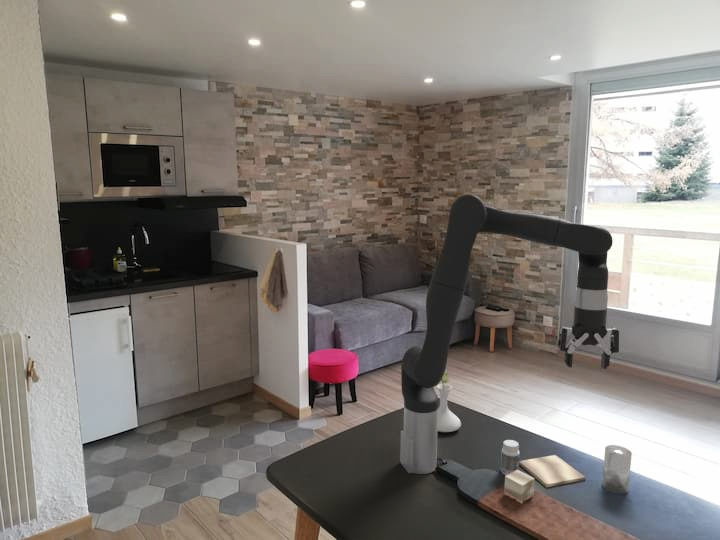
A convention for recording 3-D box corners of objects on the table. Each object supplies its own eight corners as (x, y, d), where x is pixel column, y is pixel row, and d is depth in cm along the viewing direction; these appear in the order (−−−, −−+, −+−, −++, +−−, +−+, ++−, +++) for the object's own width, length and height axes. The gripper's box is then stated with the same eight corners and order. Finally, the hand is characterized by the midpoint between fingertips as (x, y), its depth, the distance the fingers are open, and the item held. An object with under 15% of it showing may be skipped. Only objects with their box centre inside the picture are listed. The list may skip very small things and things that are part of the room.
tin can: (614, 495, 127) (618, 458, 126) (596, 482, 133) (599, 446, 131) (633, 491, 129) (637, 454, 128) (615, 479, 135) (618, 443, 133)
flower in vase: (441, 416, 172) (443, 344, 168) (468, 428, 163) (471, 353, 159) (414, 427, 163) (415, 352, 160) (440, 440, 155) (443, 361, 151)
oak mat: (546, 487, 131) (546, 484, 131) (518, 463, 142) (519, 461, 142) (585, 479, 134) (585, 477, 134) (555, 457, 146) (555, 454, 145)
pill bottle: (520, 477, 135) (522, 447, 134) (503, 476, 135) (504, 447, 134) (515, 467, 140) (517, 439, 139) (498, 467, 140) (500, 438, 139)
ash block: (521, 504, 124) (522, 485, 123) (504, 494, 128) (505, 476, 127) (533, 497, 127) (534, 478, 126) (516, 487, 131) (517, 469, 130)
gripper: (565, 308, 125) (561, 371, 128) (626, 309, 124) (621, 373, 126) (557, 301, 133) (553, 361, 135) (614, 302, 131) (610, 363, 134)
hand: (586, 367), depth 131 cm, fingers open, 8 cm apart
